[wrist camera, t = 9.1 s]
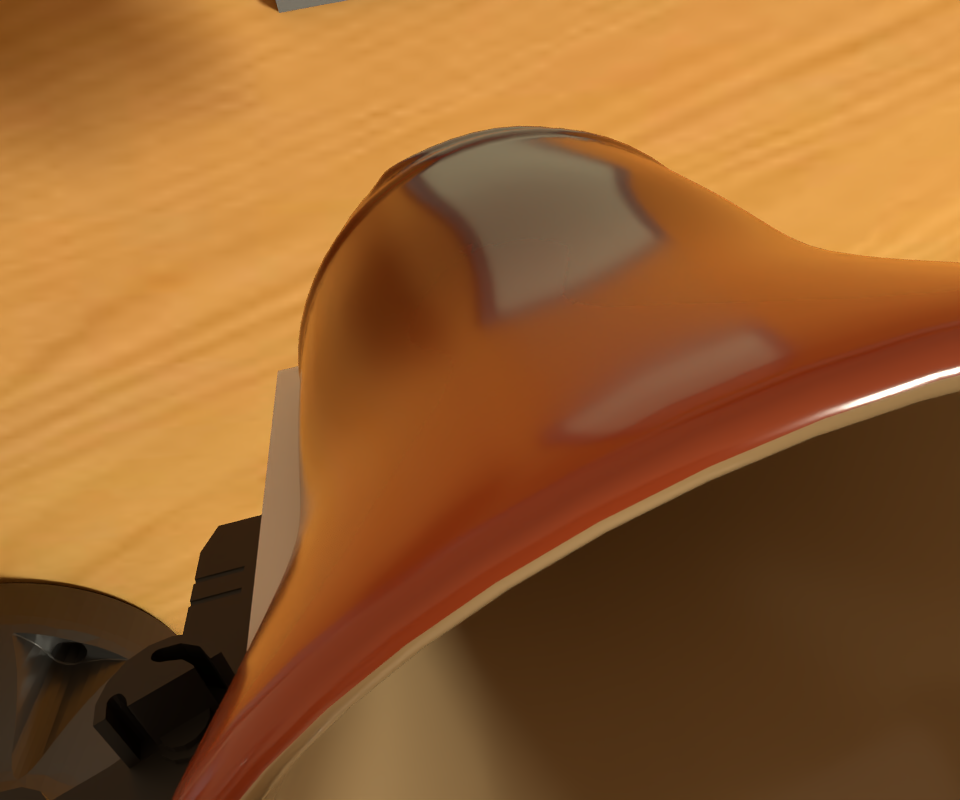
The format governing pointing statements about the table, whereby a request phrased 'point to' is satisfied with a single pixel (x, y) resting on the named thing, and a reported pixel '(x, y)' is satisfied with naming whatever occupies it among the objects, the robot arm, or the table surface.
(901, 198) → the table surface
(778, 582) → the mug
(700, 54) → the table surface
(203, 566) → the robot arm
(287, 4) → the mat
